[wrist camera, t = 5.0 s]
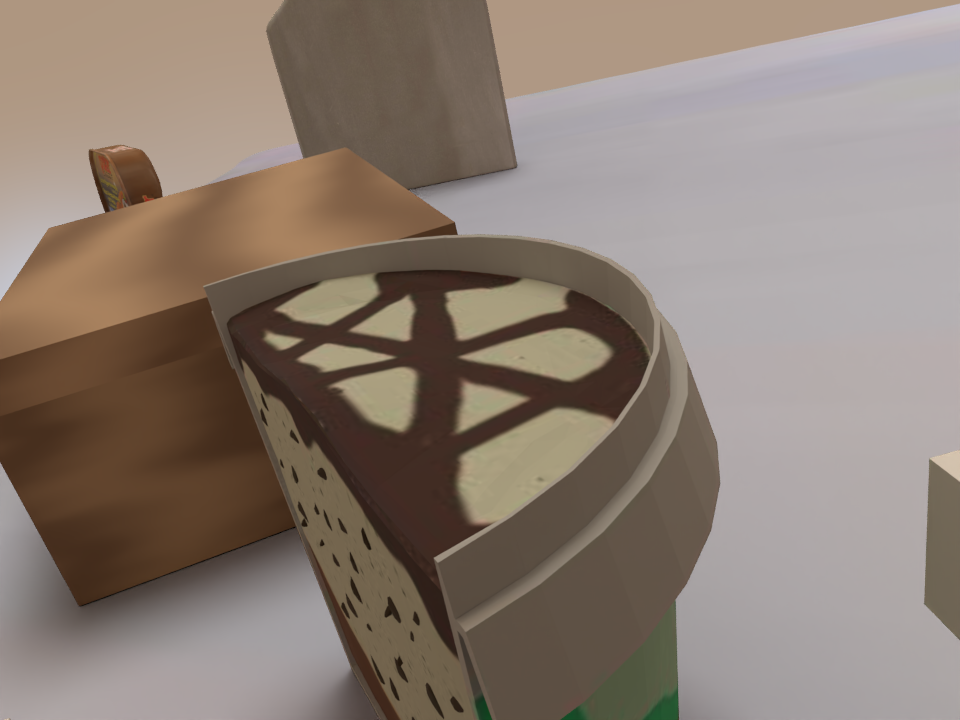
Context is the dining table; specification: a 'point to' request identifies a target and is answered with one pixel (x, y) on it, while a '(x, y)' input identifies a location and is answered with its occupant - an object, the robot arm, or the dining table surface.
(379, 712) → the food container
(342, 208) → the walnut shelf
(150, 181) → the tin
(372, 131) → the planter
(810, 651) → the dining table surface
